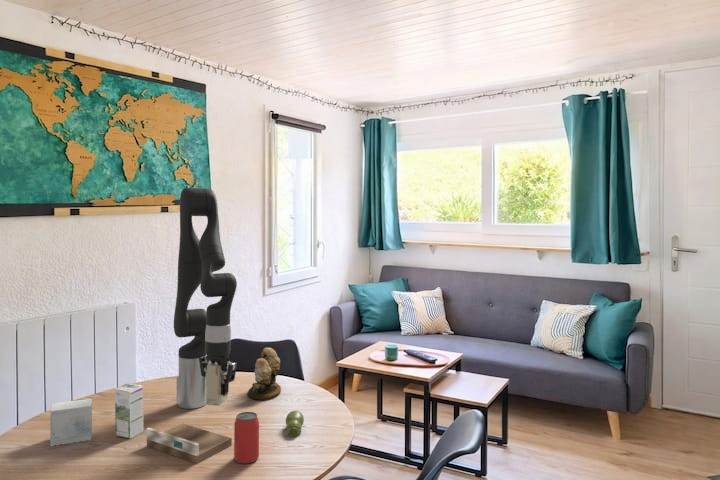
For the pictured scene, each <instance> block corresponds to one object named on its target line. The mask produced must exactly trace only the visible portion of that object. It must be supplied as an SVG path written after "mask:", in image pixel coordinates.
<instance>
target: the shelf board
mask: <svg viewBox="0 0 720 480" xmlns="http://www.w3.org/2000/svg"><path fill="white" fill-rule="evenodd" d="M231 446H232V437H228V436H226V435H223V434H222V435H221V434H218V433H217V432H216V433H215V432H213V431H209V430H206V429H202V428H198V427H195V426H193V425H189V424H186V423H181V424H178V425H176V426H174V427H172V428H169V429H166V430H164V431H160V430H158V429H154V428H152V427H147V428H146V447H148V448H152V449H154V450H156V451H157V450H158V451H161V452H163V453H165V454H169V455H171V456H175V457H177V458H180V459H183V460H186V461H189V462H192V463H195V464H199V463H200V462H203V461H204V460H206V459H208V458H210V457H211V456H213V455H216V454H217V453H219V452H221V451H223V450H225V449H227V448H229V447H231Z"/></svg>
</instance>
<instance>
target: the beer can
mask: <svg viewBox="0 0 720 480" xmlns="http://www.w3.org/2000/svg"><path fill="white" fill-rule="evenodd" d="M233 425H234V426H233V427H234V428H233V429H234V430H233V431H234V434H233V435H234V436H233V437H234V438H233V441H234V443H233V447H234V448H233V453H234V454H233V456H234V457H233V459H234V461H235V462H236V463H239V464H244V465H245V464H251V463H253V462H255V461H257V460H258V458H259V457H260V456H259V455H260V421H259V417H258V414H257V413H256V412H254V411H244V412H239V413H238V414H236V417H235V420H234V424H233Z"/></svg>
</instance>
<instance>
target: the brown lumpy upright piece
mask: <svg viewBox="0 0 720 480" xmlns="http://www.w3.org/2000/svg"><path fill="white" fill-rule="evenodd" d="M254 365H255V366H254V377H255V378H254V379H255V382H254V383H252V384H251V387H250V388H249V389H248V391H247V396H248V398H249V399H252V400H254V401H262V402H263V401H270V400H273V399H275V398H277V397H278V396H279V395H281V391H282V390H281V389H282V387H281V385H279V383H277V379H276V377H277V376H278V375H279V371H280V369H281V368H280V367H281V359H280V357H279V356H278V354H277V352H276V350H275V349H273V348H272V347H264V348H263V350H262V351H261V353H260V358H258V359H257V358H256V362H255V364H254Z"/></svg>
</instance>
